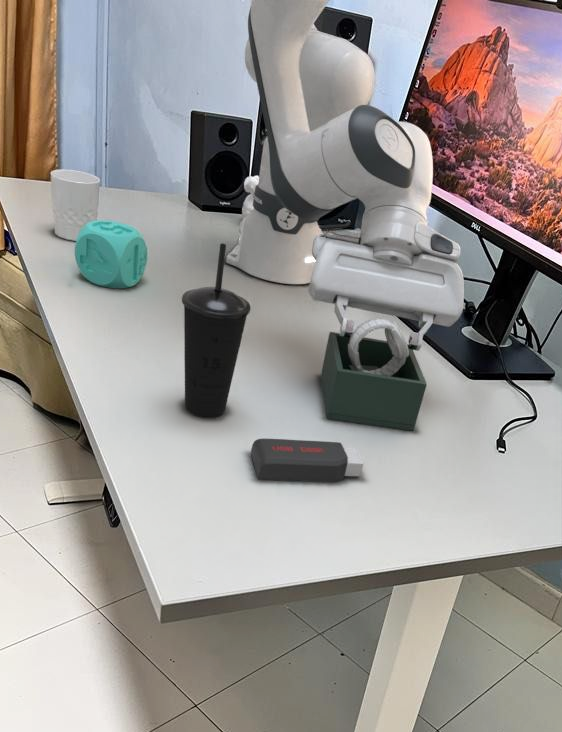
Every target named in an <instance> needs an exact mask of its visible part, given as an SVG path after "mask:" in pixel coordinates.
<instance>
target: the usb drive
mask: <svg viewBox="0 0 562 732" xmlns="http://www.w3.org/2000/svg"><path fill="white" fill-rule="evenodd" d="M250 456H251V459H252V464H253V466H254V470H255V474H256V477H257V479H258V480H261V481H262V480H263V481H291V482H317V483H318V482H321V483H322V482H323V483H337V482H339V481H343V480H344V479H345V477H361V475H362V470H363V467H364V461H363V460H362V458H361V455H360V453H359V451H358V449H357V448H351V447H349V448H347V447H344V446H343V444H342V442H337V441H325V440H323V441H322V440H302V439H281V438H257V439H256V440H254V441H253V443H252V446H251V449H250Z"/></svg>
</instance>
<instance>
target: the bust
mask: <svg viewBox="0 0 562 732" xmlns="http://www.w3.org/2000/svg"><path fill="white" fill-rule="evenodd" d="M258 182H259V174H258V175H254V176H252V175H250V176H247V177H246V178H245V179H244V182H243V185H244V186H243V189H244V191H245V193H250V194H248V195H247V196H246V197H245V199H244V201H243V205H242V208H241V214H242V215H241V216H242V219H243V218H246V216H247V215H248V214H250V213H251V212H252V210H253V209H254V207H253V199H254V198H253V195H254V192H255V187H256V185H258Z"/></svg>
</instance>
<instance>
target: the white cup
mask: <svg viewBox="0 0 562 732" xmlns="http://www.w3.org/2000/svg"><path fill="white" fill-rule="evenodd" d="M100 184H101V179H100V178H99V177H98V176H96V175H94V174H92V173H89V172H85V171H80V170H75V169H74V170H73V169H55V170H54V169H53V170H51V171H50V185H51V186H50V187H51V202H52V204H51V205H52V206H51V207H52V217H53V221H54V234H55V235H56V236H57V237H59V238H61V239H65V240H67V241H73V242H76V240H77V237H78V235H79V233H80V231H81V229H82V228H83V227H84V226H85V225H86V224H87V223H89V222H91V221H98V211H99V198H100Z"/></svg>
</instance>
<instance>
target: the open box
mask: <svg viewBox="0 0 562 732" xmlns="http://www.w3.org/2000/svg"><path fill="white" fill-rule="evenodd" d="M349 341H350V338H349V337H344V336H340V332H334V331H329V334H328V339H327V344H326V348H325V353H324V359H323V362H322V363H323V364H322V368H321V373H320V382H321V388H322V394H323V401H324V408H325V414H326V419H327V420H333V421H341V422H348V423H354V424H362V425H368V426H375V427H382V428H390V429H397V430H402V431H403V430H405V431H411V432H414V430H415V427H416V424H417V420H418V417H419V413H420V410H421V406H422V402H423V399H424V396H425V394H426V393H425V392H426V389H427V386H428V384H427V381H426V378H425V376H424V373H423V371H422V369H421V366H420V364H419V362H418V361H419V360H418V359H417V357H416V354H415V352H414V350H412V349H409V356H408V357H406V360H405V363H404V365H402V366H401V368H400V369H399V370H398V371H397V372H396V373H394V374H393V375H392V376H384V375H378V374H371V373H365V372H359V371H352V370H347V368H348V365H352V363H351V361H350V358H349V353H348V344H349ZM358 343H359V344H358V346H359V347H358V353H359V361H360V365H361V366H377V367H378V368H381V369H382V367H383V366H384V365H386V364H387V363H388V362H389V361H390V360H392V358H393V356H394V355H392V351H391V349H390V347H389V344H388V342H387V340H383V339H376V338H370V337H366V336H364V337H363V338H362V340H361V341H360V342H358ZM393 366H394V365H393ZM387 370H388V369H387ZM388 371H389V370H388Z"/></svg>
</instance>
